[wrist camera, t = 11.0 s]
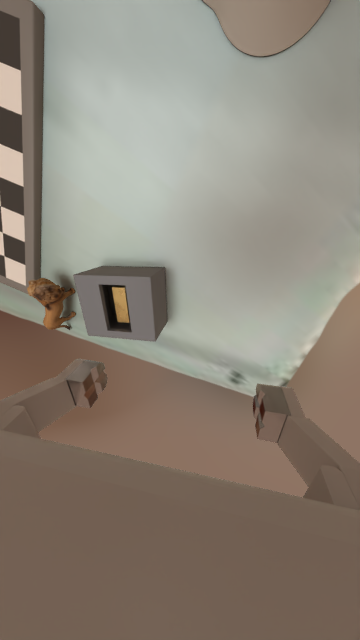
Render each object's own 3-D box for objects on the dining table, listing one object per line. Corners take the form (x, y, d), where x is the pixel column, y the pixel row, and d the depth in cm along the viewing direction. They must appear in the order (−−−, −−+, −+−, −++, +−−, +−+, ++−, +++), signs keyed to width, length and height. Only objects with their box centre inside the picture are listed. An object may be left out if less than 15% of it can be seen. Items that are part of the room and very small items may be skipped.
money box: (101, 266, 42) (73, 274, 34) (164, 267, 39) (150, 277, 31) (111, 317, 47) (88, 335, 39) (167, 321, 44) (155, 341, 36)
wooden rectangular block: (126, 279, 41) (111, 287, 35) (137, 280, 40) (124, 287, 35) (130, 310, 44) (117, 321, 38) (140, 311, 43) (129, 322, 38)
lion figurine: (52, 270, 44) (15, 279, 36) (73, 274, 44) (40, 284, 36) (62, 326, 51) (33, 344, 43) (81, 330, 50) (54, 349, 42)
